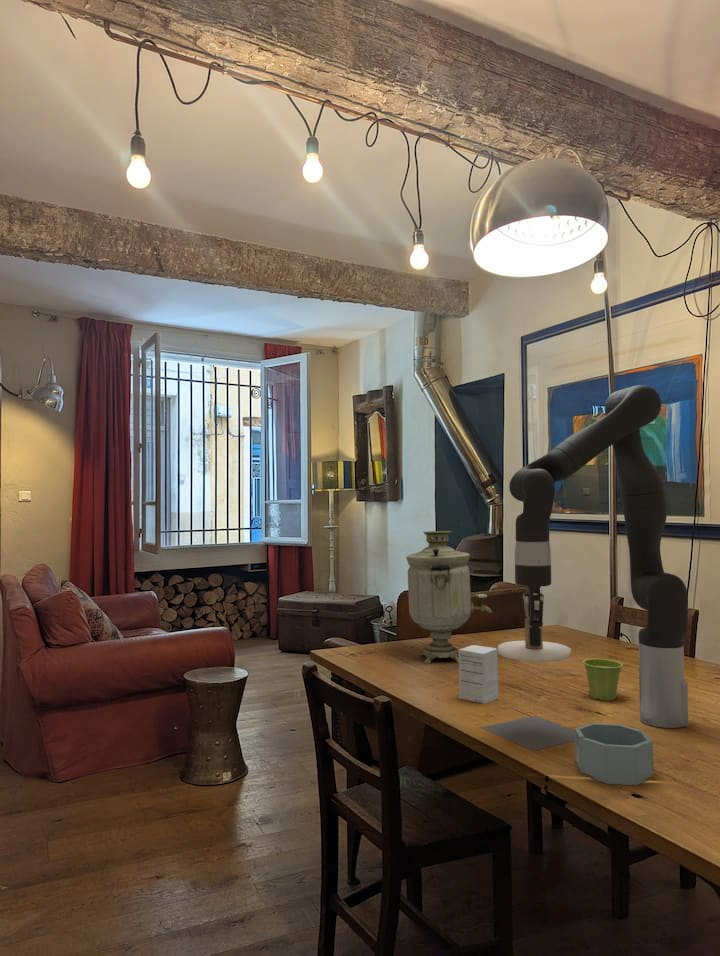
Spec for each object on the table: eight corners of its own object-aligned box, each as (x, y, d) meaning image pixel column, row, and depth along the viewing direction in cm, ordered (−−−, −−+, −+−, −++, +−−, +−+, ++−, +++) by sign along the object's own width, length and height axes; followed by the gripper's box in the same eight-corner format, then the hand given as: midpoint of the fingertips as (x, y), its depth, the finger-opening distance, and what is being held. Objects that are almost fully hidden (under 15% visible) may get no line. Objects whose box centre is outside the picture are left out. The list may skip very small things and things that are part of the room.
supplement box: (473, 693, 174) (472, 644, 174) (499, 699, 169) (498, 648, 169) (458, 700, 168) (457, 649, 168) (484, 706, 163) (484, 653, 164)
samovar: (483, 674, 193) (482, 534, 194) (395, 667, 201) (394, 533, 203) (497, 652, 221) (496, 530, 223) (419, 647, 229) (418, 529, 231)
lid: (565, 646, 150) (564, 614, 150) (576, 662, 135) (576, 626, 135) (496, 645, 152) (495, 612, 152) (500, 660, 137) (499, 624, 138)
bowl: (640, 759, 129) (639, 724, 129) (659, 786, 116) (659, 748, 117) (571, 755, 131) (571, 721, 131) (583, 782, 118) (583, 745, 119)
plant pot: (610, 691, 175) (609, 657, 176) (630, 702, 166) (630, 666, 166) (576, 693, 174) (576, 659, 174) (595, 704, 165) (594, 668, 165)
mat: (535, 717, 154) (535, 715, 154) (591, 738, 140) (591, 736, 140) (480, 729, 146) (480, 727, 146) (534, 753, 132) (533, 750, 132)
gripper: (555, 565, 137) (557, 651, 136) (546, 559, 151) (547, 637, 150) (517, 565, 138) (519, 650, 137) (512, 559, 152) (513, 636, 151)
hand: (534, 643), depth 144 cm, fingers closed on lid, 3 cm apart
